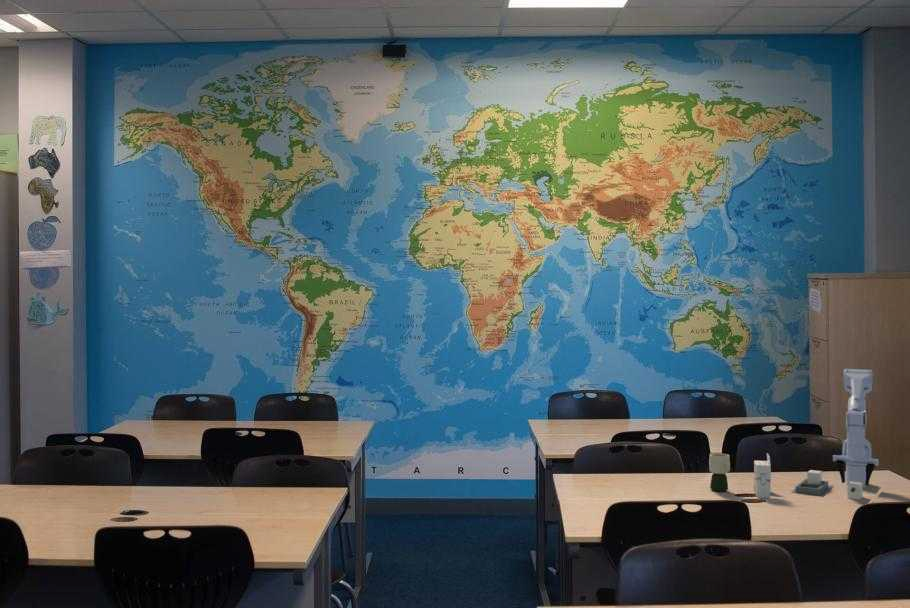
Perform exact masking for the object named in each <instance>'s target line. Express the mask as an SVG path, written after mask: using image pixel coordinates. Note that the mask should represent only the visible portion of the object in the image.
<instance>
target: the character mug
mask: <svg viewBox="0 0 910 608" xmlns="http://www.w3.org/2000/svg"><path fill="white" fill-rule="evenodd" d="M730 458H731V457H730V454H726V453H720V452H719V453H709V459H708V467H709V469H708V470H709V472H710V473H711V474H712V475H711V479H710V486H709V487H710V489H711V490H712V491H720V492H723V491H728V490H729V484H728V482H729V481H728V476H727V474H728V473H730V472H731V461H730Z"/></svg>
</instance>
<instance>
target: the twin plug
mask: <svg viewBox="0 0 910 608" xmlns="http://www.w3.org/2000/svg"><path fill="white" fill-rule="evenodd" d="M806 473H807V474H806V479H807V483H811V484H819V485H822V481H823V480H822V479H823V478H822V477H823V476H822V475H823V472H822V470H814V469H810V470H808V471H807V472H806Z"/></svg>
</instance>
